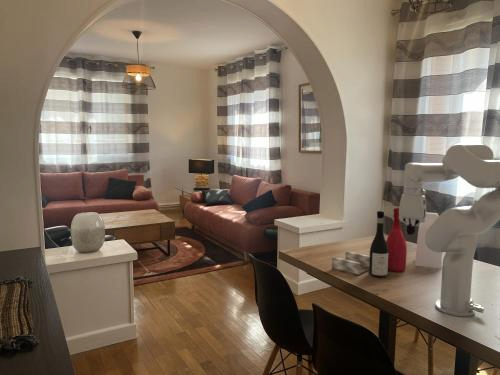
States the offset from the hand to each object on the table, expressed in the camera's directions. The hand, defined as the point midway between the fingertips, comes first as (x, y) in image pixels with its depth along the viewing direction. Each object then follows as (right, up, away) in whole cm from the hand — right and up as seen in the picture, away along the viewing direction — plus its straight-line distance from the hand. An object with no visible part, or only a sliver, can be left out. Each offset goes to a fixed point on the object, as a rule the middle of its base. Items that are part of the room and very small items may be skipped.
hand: (410, 234), depth 161 cm
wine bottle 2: (+1, -20, +20) cm, 28 cm away
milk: (+21, -19, +29) cm, 40 cm away
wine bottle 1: (-10, -21, +12) cm, 26 cm away
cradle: (-19, -19, +21) cm, 34 cm away
